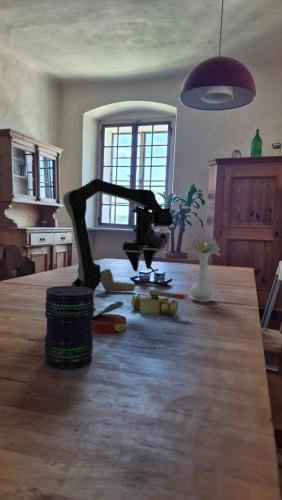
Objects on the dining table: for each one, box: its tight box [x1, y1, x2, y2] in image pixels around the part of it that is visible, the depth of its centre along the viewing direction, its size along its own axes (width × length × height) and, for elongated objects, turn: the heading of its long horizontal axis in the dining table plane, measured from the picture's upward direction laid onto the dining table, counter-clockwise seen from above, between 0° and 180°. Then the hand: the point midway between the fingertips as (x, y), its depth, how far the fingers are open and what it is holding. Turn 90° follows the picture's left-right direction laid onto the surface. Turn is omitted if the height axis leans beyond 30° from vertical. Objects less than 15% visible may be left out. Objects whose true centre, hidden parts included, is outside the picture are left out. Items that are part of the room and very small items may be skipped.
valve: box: [130, 294, 179, 317], centre depth 114 cm, size 7×15×6 cm, turn 61°
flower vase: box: [186, 237, 221, 303], centre depth 135 cm, size 13×18×25 cm
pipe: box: [100, 268, 137, 293], centre depth 145 cm, size 6×17×10 cm, turn 99°
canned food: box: [92, 301, 127, 335], centre depth 94 cm, size 11×10×10 cm
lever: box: [148, 288, 189, 301], centre depth 111 cm, size 13×4×2 cm, turn 62°
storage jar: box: [44, 285, 95, 371], centre depth 71 cm, size 10×10×15 cm
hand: (142, 270), depth 121 cm, fingers open, 9 cm apart
